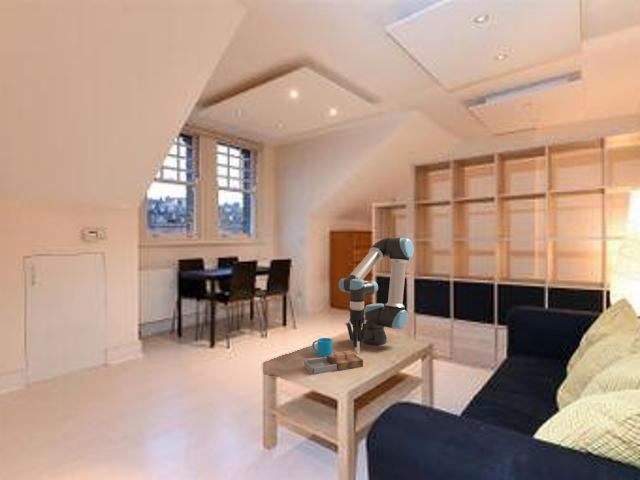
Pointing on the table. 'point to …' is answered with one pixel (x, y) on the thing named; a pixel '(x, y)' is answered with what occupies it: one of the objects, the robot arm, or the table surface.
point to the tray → (319, 365)
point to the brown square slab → (345, 362)
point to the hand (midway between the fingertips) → (357, 352)
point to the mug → (323, 347)
